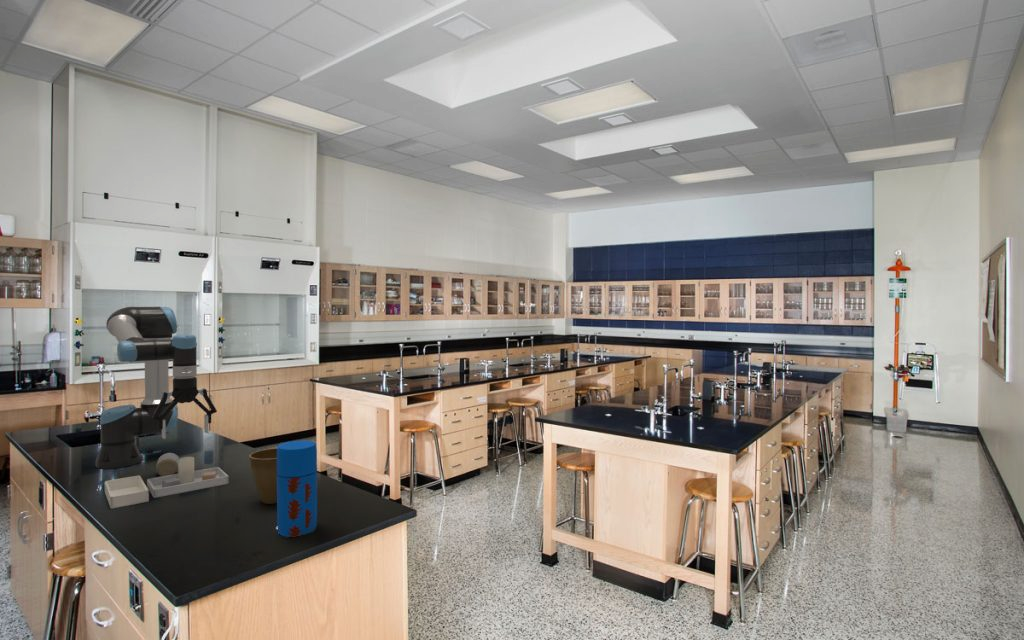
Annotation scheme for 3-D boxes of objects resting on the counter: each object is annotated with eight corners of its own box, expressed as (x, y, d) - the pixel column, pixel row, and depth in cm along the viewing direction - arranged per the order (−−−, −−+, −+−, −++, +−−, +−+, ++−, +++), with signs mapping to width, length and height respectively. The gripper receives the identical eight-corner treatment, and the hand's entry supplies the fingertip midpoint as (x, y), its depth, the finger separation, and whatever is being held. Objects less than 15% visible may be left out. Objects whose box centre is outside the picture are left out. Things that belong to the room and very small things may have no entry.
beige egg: (177, 482, 201) (177, 458, 201) (192, 479, 204) (192, 455, 204) (180, 486, 197) (179, 461, 197) (195, 483, 200) (195, 458, 200)
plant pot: (305, 500, 185) (305, 452, 184) (260, 511, 174) (259, 461, 174) (287, 489, 195) (286, 444, 195) (243, 499, 184) (242, 452, 184)
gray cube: (162, 491, 191) (162, 480, 191) (174, 488, 194) (174, 477, 194) (167, 494, 189) (167, 482, 189) (179, 491, 192) (179, 479, 192)
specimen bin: (104, 492, 191) (104, 481, 191) (139, 486, 198) (139, 475, 198) (110, 509, 175) (110, 497, 175) (148, 502, 182) (148, 490, 182)
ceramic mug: (155, 479, 206) (155, 458, 206) (157, 473, 213) (157, 453, 213) (188, 475, 211) (188, 455, 211) (188, 469, 218) (188, 450, 218)
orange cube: (204, 483, 201) (203, 472, 200) (216, 482, 202) (216, 471, 202) (202, 486, 197) (202, 475, 197) (214, 485, 198) (214, 474, 198)
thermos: (284, 523, 165) (284, 440, 164) (321, 522, 166) (320, 440, 165) (271, 538, 154) (271, 450, 153) (310, 537, 155) (310, 449, 154)
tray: (146, 487, 197) (146, 479, 197) (218, 474, 212) (218, 466, 212) (153, 498, 185) (153, 489, 185) (228, 484, 200) (228, 476, 200)
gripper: (145, 381, 189) (146, 442, 189) (225, 375, 205) (225, 431, 205) (142, 379, 194) (143, 438, 195) (220, 373, 211) (220, 428, 211)
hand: (185, 435), depth 200 cm, fingers open, 13 cm apart
